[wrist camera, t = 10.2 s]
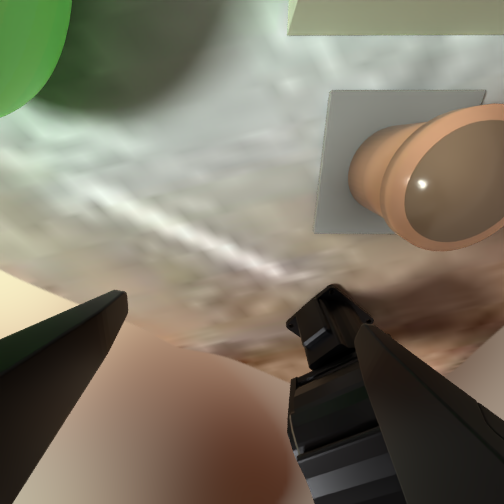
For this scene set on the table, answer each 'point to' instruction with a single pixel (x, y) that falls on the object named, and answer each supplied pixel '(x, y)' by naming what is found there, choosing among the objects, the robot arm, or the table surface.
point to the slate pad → (355, 133)
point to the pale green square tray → (396, 17)
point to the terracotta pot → (436, 177)
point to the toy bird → (29, 47)
